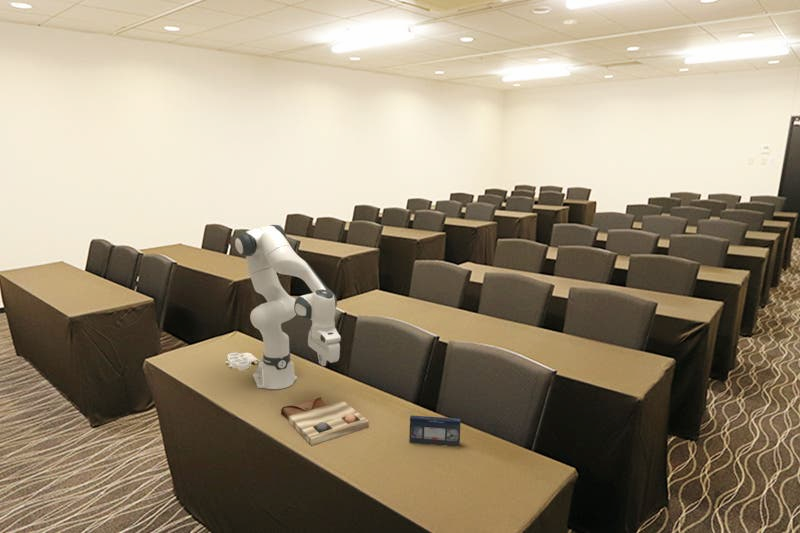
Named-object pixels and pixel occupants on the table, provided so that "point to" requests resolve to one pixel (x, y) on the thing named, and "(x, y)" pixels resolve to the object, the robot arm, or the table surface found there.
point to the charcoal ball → (321, 427)
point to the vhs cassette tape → (434, 430)
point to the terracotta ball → (350, 418)
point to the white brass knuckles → (240, 360)
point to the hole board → (327, 422)
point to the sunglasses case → (301, 407)
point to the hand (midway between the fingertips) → (322, 364)
